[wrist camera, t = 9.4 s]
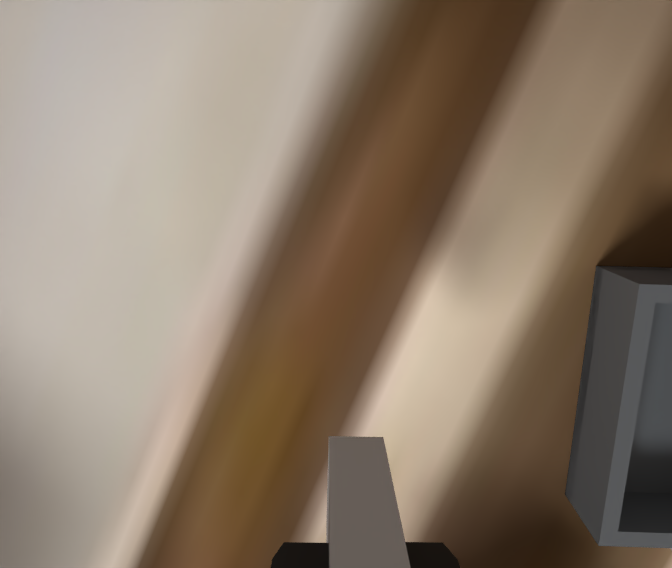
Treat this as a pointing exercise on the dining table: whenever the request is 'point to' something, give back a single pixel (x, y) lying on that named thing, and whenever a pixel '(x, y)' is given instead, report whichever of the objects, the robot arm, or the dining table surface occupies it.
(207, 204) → the dining table surface
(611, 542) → the grey storage tray
